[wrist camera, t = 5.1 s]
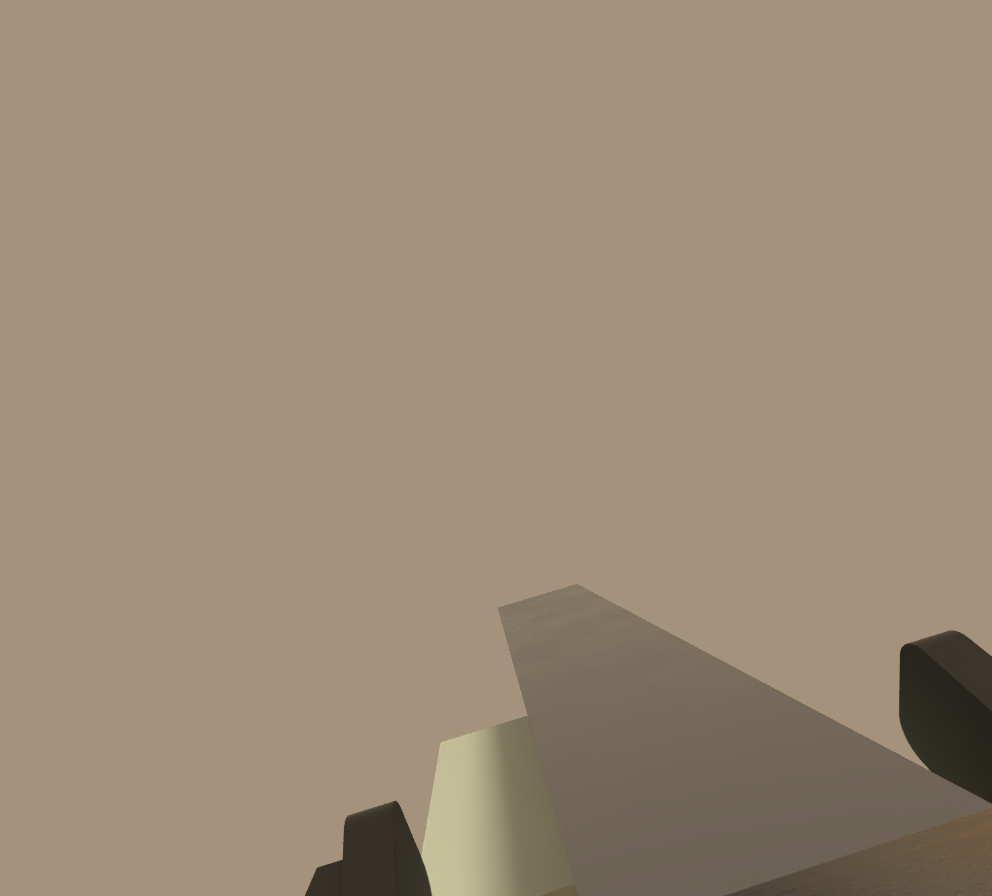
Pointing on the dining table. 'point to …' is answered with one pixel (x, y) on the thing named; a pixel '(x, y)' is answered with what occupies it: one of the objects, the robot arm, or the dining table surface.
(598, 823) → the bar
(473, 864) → the stand
